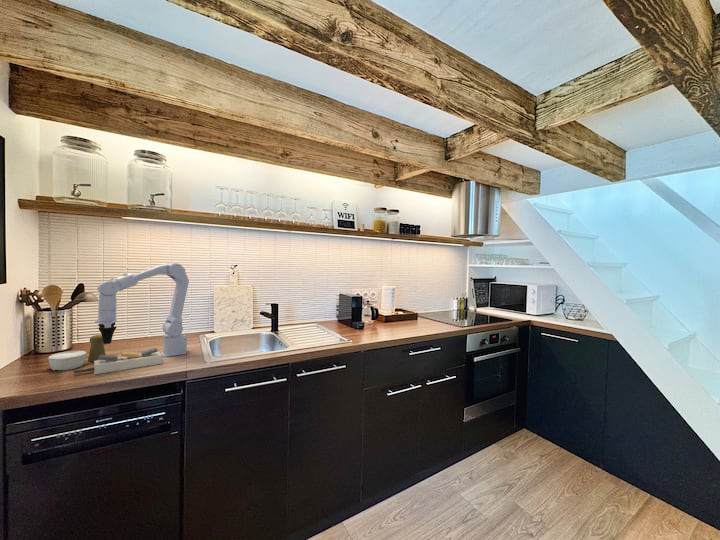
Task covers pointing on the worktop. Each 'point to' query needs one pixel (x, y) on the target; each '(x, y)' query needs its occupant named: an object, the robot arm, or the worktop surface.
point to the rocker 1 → (108, 357)
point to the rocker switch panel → (123, 363)
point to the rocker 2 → (149, 352)
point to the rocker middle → (129, 354)
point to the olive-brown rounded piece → (96, 348)
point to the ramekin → (67, 360)
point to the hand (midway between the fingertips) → (106, 341)
